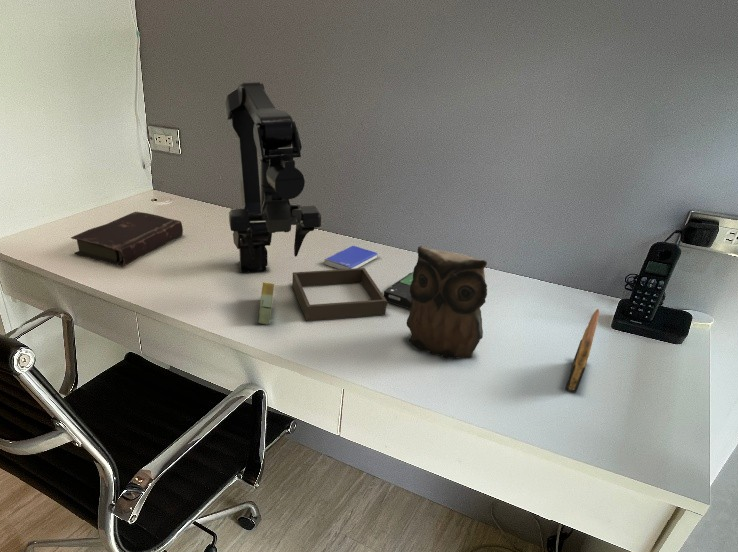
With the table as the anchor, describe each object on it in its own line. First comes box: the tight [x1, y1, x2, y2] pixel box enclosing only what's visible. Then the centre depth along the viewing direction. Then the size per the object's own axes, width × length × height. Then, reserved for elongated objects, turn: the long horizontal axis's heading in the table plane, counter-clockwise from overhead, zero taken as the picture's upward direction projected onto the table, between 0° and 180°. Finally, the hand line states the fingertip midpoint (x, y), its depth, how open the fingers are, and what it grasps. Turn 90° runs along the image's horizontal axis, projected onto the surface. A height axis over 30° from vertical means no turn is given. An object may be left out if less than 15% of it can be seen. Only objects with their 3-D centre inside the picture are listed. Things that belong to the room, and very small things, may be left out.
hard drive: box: [323, 245, 378, 270], centre depth 148 cm, size 2×8×12 cm
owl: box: [406, 245, 488, 359], centre depth 108 cm, size 13×13×20 cm
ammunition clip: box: [564, 308, 600, 393], centre depth 101 cm, size 11×2×12 cm, turn 149°
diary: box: [70, 211, 184, 267], centre depth 156 cm, size 19×25×5 cm
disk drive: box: [383, 271, 413, 310], centre depth 131 cm, size 10×3×15 cm
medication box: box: [257, 282, 275, 325], centre depth 125 cm, size 12×3×4 cm, turn 178°
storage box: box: [291, 267, 388, 322], centre depth 129 cm, size 18×18×4 cm
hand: (274, 257), depth 123 cm, fingers open, 9 cm apart
